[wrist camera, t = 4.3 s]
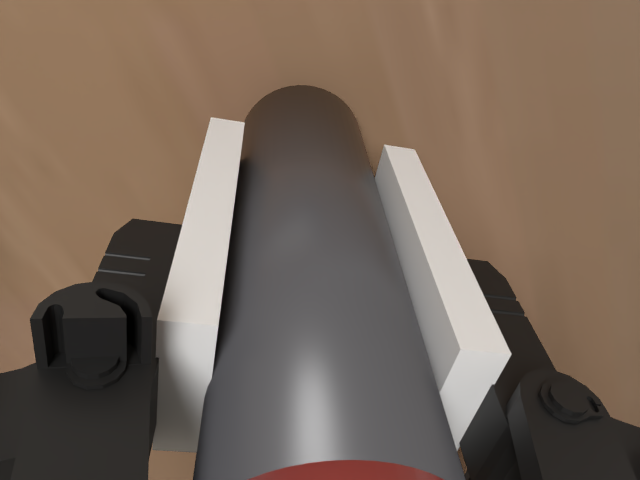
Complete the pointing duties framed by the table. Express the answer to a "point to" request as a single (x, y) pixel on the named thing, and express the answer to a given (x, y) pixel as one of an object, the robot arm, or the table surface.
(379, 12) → the table surface
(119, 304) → the robot arm
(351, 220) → the marker
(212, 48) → the table surface
